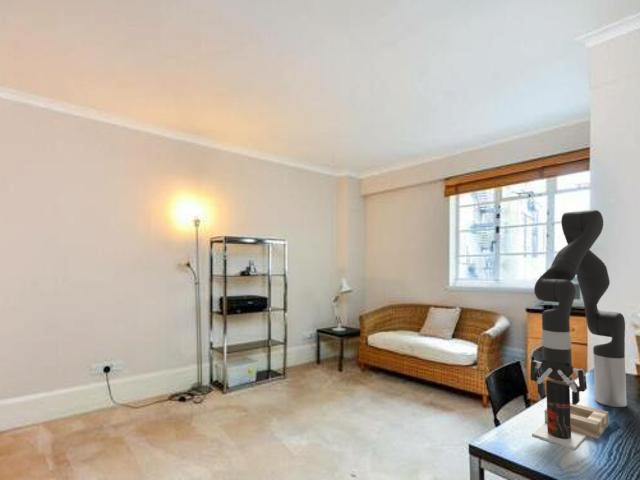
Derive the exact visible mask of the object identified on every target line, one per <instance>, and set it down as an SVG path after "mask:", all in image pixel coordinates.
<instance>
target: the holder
mask: <svg viewBox="0 0 640 480" xmlns="http://www.w3.org/2000/svg"><path fill="white" fill-rule="evenodd" d="M609 414H610V412H609V411H606V410H602V409H600V408H599V409H598V408H594V407H591V406H586V405H582V404H578V403H577V404H576V405H573V404H572V401H570V417H571V431H574V432H577V433H581V434H584V435H586V437H587V436H588V437H591V438H594V439H599V438H600V437H601V435H602V434H603V433H604V431H605V430H607V428H608V427H609V426H610V415H609ZM544 423H547V408H545V410H544Z"/></svg>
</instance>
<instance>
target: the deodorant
mask: <svg viewBox="0 0 640 480" xmlns="http://www.w3.org/2000/svg"><path fill="white" fill-rule="evenodd" d="M545 381H546V383H545V386H546V387H545V388H546V389H545V394H546V409H547V428H548V434H550V435H551V436H553V437H556V438H560V439H570V438H571V417H570V402H571V394H570V393H571V391H570V390H571V388H570V386H569V385H567V384H566V382H565V381H559V380H557V379H546V380H545Z"/></svg>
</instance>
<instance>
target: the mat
mask: <svg viewBox="0 0 640 480" xmlns="http://www.w3.org/2000/svg"><path fill="white" fill-rule="evenodd" d="M531 436H532V437H534V438H537V439H538V438H539V439H541V440H545V441H547V442H550V443H553V444H556V445H560V446H563V447H566V448H569V449H571V450H573V451H574V450H576V449H577V448H578V447H579V446H580V445H581V443H583V442H584V440H585V439H586V438H587V435H584V434H581V433H577V432H574V431H571V438H570V439H560V438H556V437H553V436H551V435H550V434H548V428H547V423H545V422H544V423H543V424H542V425H540V426H539V427H538V428H537V429H536V430H534V431H533V432H532V433H531Z"/></svg>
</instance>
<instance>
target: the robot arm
mask: <svg viewBox="0 0 640 480" xmlns="http://www.w3.org/2000/svg"><path fill="white" fill-rule="evenodd" d="M561 228H562V232H563V235H564V238H565V242H566V243H567V245H565V246H564V247H563V248H561V249H560V250H559V251H558V252H557V253H556V254H555V256H554V258H553V261H552V264H551V265H550V267H549V268H548V269H547V270H546V271H545V272H544V273H543V274H542V275H540V277H538V279H537V280H536V282H535V285H534V288H533V289H534V290H533V291H534V294H535V295H534V296H535V297H536V298H537V299H538V300H539V301H542V302H547V303H548V302H549V303H558V305H557V307H556V308H553V309H545V310H543V311H542V314H541V321H542V322H541V326H542V327H541V329H542V330H541V340H540V342H541V354H542V355H541V357H542V358H541V360H542V361H541V362H540V361H538V360H537V359H534V360H532V361H531V362H530V374H529V375H530V377H529V378H530V380H531V381H534V382H536V384H537V394H538V395H539V396H540V398H541V397H542V398H544V397H545V396H546V389H545V388H546V387H545V386H546V383H544V382H545V381H547V380H548V378H549V380H558V381H563V382H566V384H567V385H569V386H570V390H572V391H571V403H572V404H573V405H576V404H578V403H580V392H581V393H583V392H585V391H586V390H587V389H588V387H587V385H588V383H587V377H586V369H584V368H580V369H579V368H575V367H574V366H573V359H572V356H573V355H572V354H573V353H572V336H571V332H570V330H571V329H570V316H571V311H572V307H573V304H574V301H575V297H576V293H577V292H576V286H575V284H574V283H573V282H572V281H573V280H575V278H576V279H577V284H578V285H579V289H580V293H581V298H582V301H583V306H584V312H585V318H586V325H587V328H588V330H589V332H590V333H591V334H592V335H596V336H599V337H600V336H601V337H607V338H611V341H609V342H607V343H603V344H601V343H600V344H596V345H594V346H593V349H592V350H593V376H594V377H593V378H594V401H596V402H597V403H599V404H600V405H604V406H608V407H615V408H626V407H627V405H628V404H627V403H628V402H627V384H626V383H627V381H626V379H627V377H626V376H627V375H626V358H625V357H626V354H625V353H626V352H625V350H626V348H625V347H626V346H625V345H626V343H625V340H626V338H625V337H626V321H625V320H626V319H625V317H624V315H623V314H622V313H621V312H616V311H606V310H599V309H598V303H599V302H600V300H601V299H602V297H603V295H604V294H605V293H606V292H607V290H608V289H609V286H610V283H611V282H610V278H609V273H608V268H607V266H606V264H605V262H603V260H602V259H601V258H600V257H599V256H597V255H596V254H595V253H594V252H593V251H592V250H590V249H591V248H592V247H593V246H594V244H595V243H596V241H598V238H599V237H600V235H601V234H602V231H603V228H604V218H603V215H602V213H601V212H600V210H598V209H581V210H571V211H566V212H564V213H563V214H562V216H561ZM540 367H541V369H542V370H543V371H544V373H542V374H541V376H540V377H539V376H538V374H539V373H538V369H540ZM573 374H574V375H575V376H576V377H577V378H578V384H577V383H576V381H575V379H574V378H573V376H572V375H573Z"/></svg>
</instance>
